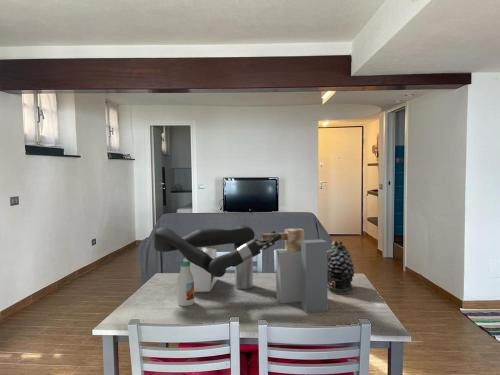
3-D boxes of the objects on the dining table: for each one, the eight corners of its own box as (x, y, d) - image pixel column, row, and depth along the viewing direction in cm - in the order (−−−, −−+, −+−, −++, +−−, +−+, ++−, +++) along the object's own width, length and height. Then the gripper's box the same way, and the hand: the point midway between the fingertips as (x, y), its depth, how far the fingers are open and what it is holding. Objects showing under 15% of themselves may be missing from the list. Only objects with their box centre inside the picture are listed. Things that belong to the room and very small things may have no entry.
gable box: (209, 292, 179) (207, 238, 178) (184, 292, 180) (182, 239, 179) (218, 278, 201) (215, 231, 200) (195, 279, 202) (193, 231, 201)
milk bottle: (180, 307, 159) (179, 265, 158) (175, 302, 166) (174, 261, 165) (196, 304, 163) (195, 262, 162) (191, 299, 170) (190, 259, 169)
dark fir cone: (319, 283, 192) (318, 238, 191) (345, 282, 193) (345, 237, 192) (331, 296, 171) (331, 246, 170) (360, 295, 172) (360, 245, 171)
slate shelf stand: (288, 314, 151) (287, 243, 149) (276, 297, 171) (275, 235, 170) (327, 311, 154) (327, 241, 152) (311, 294, 174) (310, 233, 173)
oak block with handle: (263, 253, 162) (263, 232, 161) (261, 250, 168) (260, 230, 167) (304, 251, 166) (304, 230, 165) (300, 248, 171) (300, 228, 171)
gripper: (248, 247, 156) (279, 229, 159) (241, 240, 170) (270, 225, 173) (255, 261, 157) (286, 244, 160) (248, 254, 171) (276, 238, 174)
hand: (277, 234), depth 166 cm, fingers open, 8 cm apart
